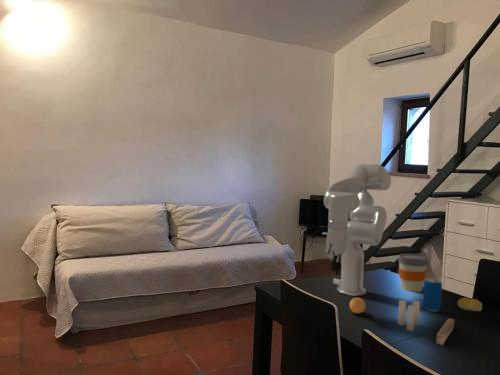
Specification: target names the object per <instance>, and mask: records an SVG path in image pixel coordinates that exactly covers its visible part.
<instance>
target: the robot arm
mask: <svg viewBox="0 0 500 375" xmlns="http://www.w3.org/2000/svg"><path fill="white" fill-rule="evenodd" d="M391 178H392V177H391V175H390V173H389V171H387V169H386V168H385V167H384V166H383V165H381V164H370V163H369V164H365V163H362V164H357V165H355V166H354V168H353V169H352V170H351V172H350V173H349V175H348V177H347V178H345V179H342V180H340V181H337V182H333V184H331V185H330V186H329V187H328V189H327V191H326V192H325V194H324V196H323V206H324V207H325V208H326V209H328V218H327V219H328V221H327V229H328V230H327V233H326V241H325V254H326V255H329V257H328V258H329V259H330V261H331V270H330V271H332V272H337V273H339V272H340V271H341V272H340V274H341V275H340V279H338V278H333V280H332V282H333V284H334V285H337V287H336V290H338V291H339V292H338V291H337V292H338V293H340V294H342V293H343V294H342V295H345V294H346V296H352V297H353V296H354V297H355V296H356V297H359V296H363V295H366V294H367V290H366V288H365V287H363V285H364V264H365V253H364V252H365V251H364V249H363V248H362V246H361V245H365V246H378V245H379V244H380V243H381V241H382V238H383V235H384V232H385V227H386V224H387V223H386V222H387V210H386V209H385V207H383V206H380V205H375V200H374V197H373V196H372V195H371V193H370V192H369V191H370V190H371V191H388V190H389V189H390V187H391V184H392V179H391ZM349 212H350V214H349ZM348 218H349V219H350V221H348V220H349V219H348ZM333 284H332V285H333Z"/></svg>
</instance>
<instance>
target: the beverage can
mask: <svg viewBox="0 0 500 375" xmlns="http://www.w3.org/2000/svg"><path fill="white" fill-rule="evenodd" d="M442 287H443V283H442V282H441V279H438V278H434V277H427V278H426V277H425V280H424V281H423V297H422V300H423V301H422V307H423V308H424V309H425V311H429V312H435V313H437V312H439V311H440V310H441V304H442V302H441V301H442Z"/></svg>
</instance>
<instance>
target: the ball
mask: <svg viewBox="0 0 500 375" xmlns="http://www.w3.org/2000/svg"><path fill="white" fill-rule="evenodd" d="M349 309H350V311H352V313H354V314H361V313H363V312H364V311H365V310H366V302H365V301H364V299H362V298H360V297H353V298H352V299H351V300H350V302H349Z"/></svg>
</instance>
